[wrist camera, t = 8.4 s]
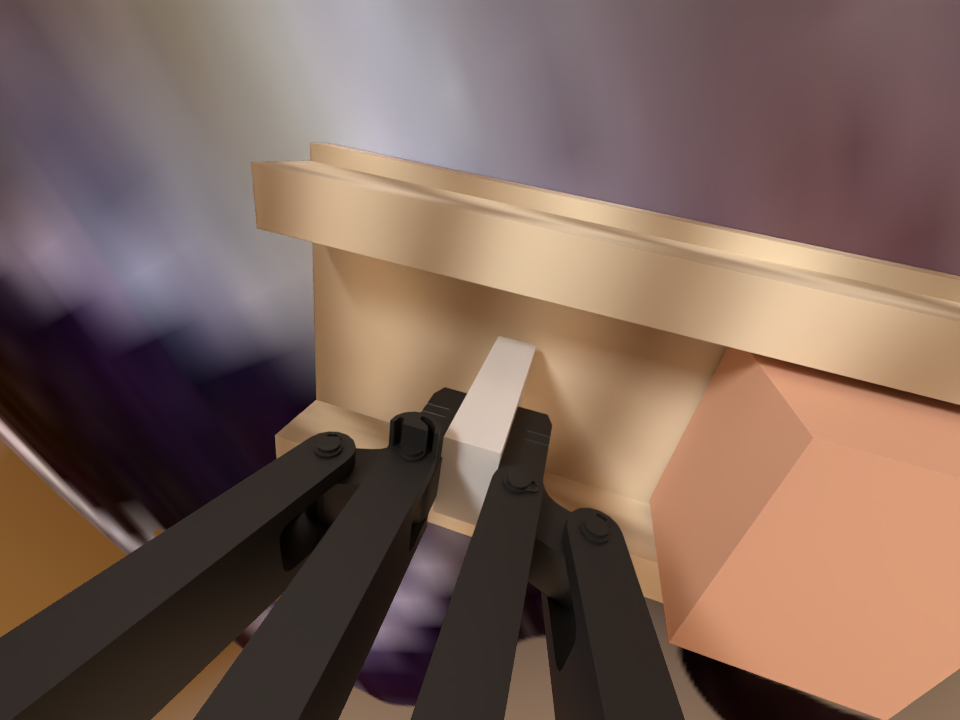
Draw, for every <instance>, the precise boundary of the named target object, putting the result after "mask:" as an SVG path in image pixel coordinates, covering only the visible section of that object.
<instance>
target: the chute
mask: <svg viewBox="0 0 960 720" xmlns="http://www.w3.org/2000/svg"><path fill="white" fill-rule="evenodd" d="M310 157H311V161H280V162H251V165H252V176H253V188H254V199H255V211H256V222H257V228H258V229H262V230H266V231H270V232H274V233H278V234H282V235H286V236H290V237H294V238H298V239H302V240H306V241H310V242H313V282H314V324H315V365H316V401H314V402H313V403H312V404H311V405H310V406H309V407H307V408H306V409H305V410H304V411H303V412H302V413H300V414H299V415H298V416H297V417H296V418H295V419H293V420H292V421H291V422H290V423H289V424H288V425H286V426H285V427H284V428H283V429H282V430H281V431H279V432H278V433H277V434H276V435H275V443H276V454H277V458H279V457H280V456H282V455H283V454H285V453H287V452H288V451H290V450H291V449H293V448H294V447H296V446H297V445H299V444H300V443H302V442H304V441H305V440H307V439H308V438H310V437H312V436H314V435H316V434H318V433H323V432H329V431H331V432H341V433H344V434H346V435H348V436H350V437H351V438H352V439H353V440H354V443H355V445H356V448H362V449H382V448H387V446H388V445H389V431H390V420H391V419H392V418H393V417H395V416H396V415H398V414H401V413H404V412H421V411H423V408H424V407H425V405H426V404H427V403H428V401H429V400H430V398H431V397H432V395H433V394H434V393H435V392H437V391H439V390H441V389H442V388H444V387H446V388H450V389H453V390H457V391H461V392H464V393H468V391H469V389H470V388H471V386H472V384H473V382H474V380H475V378H476V377H477V375H478V373H479V371H480V369H481V367H482V366H483V364H484V362H485V360H486V358H487V356H488V355H489V353H490V351H491V349H492V347H493V345H494V344H495V342H496V340H497V338H498V336H501V337H505V338H509V339H513V340H517V341H521V342H525V343H529V344H533V345H536V349H535V353H534V357H533V361H532V365H531V369H530V373H529V377H528V382H527V386H526V390H525V394H524V398H523V402H522V405H521V407H522V408H526V409H529V410H533V411H537V412H540V413H544V414H547V415H548V416H549V419H550V421H551V423H552V431H551V436H550V442H549V448H548V454H547V459H546V465H545V471H544V477H543V484H544V487H545V490H546V492H547V493H548V495H549V496H550V497H551V498H552V499H553V500H554V501H555V502H556V503H558V504H559V505H560V506H562V507H563V508H565V509H567V510H568V511H570V512H572V511H574V510H576V509H578V508H592V509H596V510H599V511H601V512H603V513H605V514H606V515H608V516H610V517H611V518H612V519H613V520H614V521H615V522H616V523H617V524H618V526H619V528H620V529H621V531H622V533H623V536H624V539H625V542H626V545H627V548H628V551H629V554H630V557H631V560H632V563H633V566H634V569H635V572H636V575H637V578H638V581H639V584H640V587H641V590H642V593H643V596H644V597H646V598H649V599H652V600H655V601H658V602H661V603H663V599H662V591H661V584H660V576H659V569H658V561H657V554H656V547H655V539H654V532H653V524H652V517H651V509H650V502H649V499H650V497H651V495H652V493H653V492H654V490H655V488H656V486H657V484H658V482H659V480H660V478H661V476H662V474H663V472H664V470H665V468H666V466H667V464H668V462H669V460H670V458H671V456H672V454H673V452H674V451H675V449H676V447H677V445H678V443H679V441H680V439H681V437H682V435H683V433H684V431H685V429H686V427H687V425H688V423H689V421H690V419H691V417H692V415H693V413H694V412H695V410H696V408H697V406H698V404H699V402H700V400H701V398H702V396H703V394H704V392H705V390H706V388H707V386H708V384H709V382H710V380H711V378H712V376H713V374H714V373H715V371H716V369H717V367H718V365H719V363H720V361H721V359H722V357H723V355H724V353H725V351H726V349H727V347H732V348H735V349H739V350H743V351H747V352H751V353H755V354H759V355H763V356H767V357H771V358H775V359H779V360H783V361H787V362H791V363H795V364H799V365H803V366H807V367H811V368H815V369H819V370H823V371H827V372H831V373H835V374H839V375H843V376H847V377H851V378H855V379H859V380H863V381H867V382H871V383H875V384H879V385H883V386H887V387H891V388H895V389H899V390H903V391H907V392H911V393H915V394H918V395H922V396H926V397H930V398H934V399H938V400H942V401H946V402H950V403H954V404H958V405H960V276H956V275H951V274H946V273H942V272H937V271H932V270H927V269H923V268H918V267H913V266H908V265H904V264H899V263H894V262H889V261H885V260H880V259H875V258H871V257H866V256H861V255H856V254H852V253H847V252H842V251H837V250H833V249H828V248H823V247H818V246H814V245H809V244H804V243H799V242H795V241H790V240H785V239H780V238H776V237H771V236H766V235H761V234H757V233H752V232H747V231H742V230H738V229H733V228H728V227H723V226H719V225H714V224H709V223H704V222H700V221H695V220H690V219H685V218H681V217H676V216H671V215H666V214H662V213H657V212H652V211H647V210H643V209H638V208H633V207H628V206H624V205H619V204H614V203H609V202H605V201H600V200H595V199H590V198H586V197H581V196H576V195H571V194H567V193H562V192H557V191H553V190H548V189H543V188H538V187H534V186H529V185H524V184H519V183H515V182H510V181H505V180H500V179H496V178H491V177H486V176H481V175H477V174H472V173H467V172H462V171H458V170H453V169H448V168H443V167H439V166H434V165H429V164H424V163H420V162H415V161H410V160H405V159H401V158H396V157H391V156H386V155H382V154H377V153H372V152H367V151H363V150H358V149H353V148H348V147H344V146H339V145H334V144H329V143H310ZM433 508H434V503H433V505H432V507H431V509H430V511H429V514H428V521H427V522H430V523H433V524H436V525H439V526H442V527H444V528H447V529H450V530H453V531H456V532H459V533H462V534H465V535H468V536H470V537H472V535H473V532H474V529H475V526H476V525H473V524H470V523H467V522H464V521H461V520H458V519H455V518H452V517H449V516H445V515H442V514H439V513H436V512H433Z"/></svg>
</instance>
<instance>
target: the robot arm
mask: <svg viewBox="0 0 960 720" xmlns="http://www.w3.org/2000/svg"><path fill="white" fill-rule="evenodd" d="M535 349H536V345H533V344H529V343H525V342H521V341H517V340H513V339H509V338H505V337H501V336H498V338H497V340H496V342H495V344H494V345H493V347H492V349H491V351H490V353H489V355H488V356H487V358H486V360H485V362H484V364H483V366H482V367H481V369H480V371H479V373H478V375H477V377H476V378H475V380H474V382H473V384H472V386H471V388H470V389H469V391H468V393H464V392H461V391H457V390H453V389H450V388H446V387H444V388H442V389H441V390H439V391H437V392H435V393H434V394H433V395H432V397H431V398H430V400H429V401H428V403H427V404H426V405H425V407H424V408H423V411H421V412H404V413H401V414H398V415H396V416H395V417H393V418H392V419H391V420H390V431H389V445H388V446H387V448H382V449H362V448H356V445H355V443H354V440H353V439H352V438H351V437H350V436H348V435H346V434H344V433H341V432H331V431H329V432H323V433H318V434H316V435H314V436H312V437H310V438H308V439H307V440H305V441H304V442H302V443H300V444H299V445H297V446H296V447H294V448H293V449H291V450H290V451H288V452H287V453H285V454H283V455H282V456H280V457H279V458H277V459H276V460H274V461H273V462H271V463H270V464H268V465H266V466H265V467H263V468H262V469H260V470H259V471H257V472H256V473H254V474H253V475H251V476H249V477H248V478H246V479H245V480H243V481H242V482H240V483H239V484H237V485H236V486H234V487H232V488H231V489H229V490H228V491H226V492H225V493H223V494H222V495H220V496H218V497H217V498H215V499H214V500H212V501H211V502H209V503H208V504H206V505H205V506H203V507H201V508H200V509H198V510H197V511H195V512H194V513H192V514H191V515H189V516H188V517H186V518H184V519H183V520H181V521H180V522H178V523H177V524H175V525H174V526H172V527H171V528H169V529H167V530H166V531H164V532H163V533H161V534H160V535H158V536H157V537H155V538H154V539H152V540H150V541H149V542H147V543H146V544H144V545H143V546H141V547H140V548H138V549H137V550H135V551H133V552H132V553H130V554H129V555H127V556H126V557H124V558H123V559H121V560H120V561H118V562H116V563H115V564H113V565H112V566H110V567H109V568H107V569H106V570H104V571H102V572H101V573H99V574H98V575H96V576H95V577H93V578H92V579H90V580H89V581H87V582H85V583H84V584H82V585H81V586H79V587H78V588H76V589H75V590H73V591H72V592H70V593H68V594H67V595H65V596H64V597H62V598H61V599H59V600H58V601H56V602H55V603H53V604H52V605H50V606H48V607H47V608H45V609H44V610H42V611H41V612H39V613H38V614H36V615H34V616H33V617H31V618H30V619H28V620H27V621H25V622H24V623H22V624H21V625H19V626H17V627H16V628H14V629H13V630H11V631H10V632H8V633H7V634H5V635H3V636H2V637H0V720H151V719H152V718H153V717H154V716H155V715H156V714H157V713H158V712H159V711H160V710H161V709H162V708H163V707H164V706H165V705H167V704H168V703H169V702H170V701H171V700H172V699H173V698H174V697H175V696H176V695H177V694H178V693H179V692H180V691H181V690H182V689H183V688H184V687H185V686H186V685H187V684H188V683H189V682H191V681H192V680H193V679H194V678H195V677H196V676H197V675H198V674H199V673H200V672H201V671H202V670H203V669H204V668H205V667H206V666H207V665H208V664H209V663H210V662H211V661H212V660H213V659H214V658H215V657H217V656H218V655H219V654H220V652H222V651H223V650H224V649H225V648H226V647H227V646H228V645H229V644H230V643H231V642H232V641H233V640H234V639H235V638H236V637H237V636H238V635H239V634H241V633H242V632H243V631H244V630H245V629H246V628H247V627H248V626H249V625H250V624H251V623H252V622H253V621H254V620H255V619H256V618H257V617H258V616H259V615H260V614H261V613H262V612H263V611H264V610H266V609H267V608H268V607H269V606H270V605H271V604H272V603H273V602H274V601H275V600H276V599H277V598H278V597H279V596H280V595H281V594H282V593H283V592H284V593H283V594H282V595H281V597H280V598H279V600H278V601H277V602H276V604H275V605H274V607H273V608H272V609H271V611H270V612H269V614H268V615H267V617H266V618H265V619H264V621H263V622H262V624H261V625H260V626H259V628H258V629H257V631H256V632H255V633H254V635H253V636H252V638H251V639H250V640H249V642H248V643H247V645H246V646H245V647H244V649H243V650H242V652H241V653H240V654H239V656H238V657H237V659H236V660H235V661H234V663H233V664H232V666H231V667H230V669H229V670H228V671H227V673H226V674H225V676H224V677H223V679H222V680H221V681H220V683H219V684H218V685H217V687H216V688H215V690H214V691H213V693H212V694H211V695H210V697H209V698H208V700H207V701H206V702H205V704H204V705H203V706H202V708H201V709H200V711H199V712H198V713H197V715H196V716H195V718H194V719H193V720H338V719H339V717H340V715H341V713H342V710H343V708H344V706H345V704H346V702H347V699H348V697H349V695H350V693H351V691H352V688H353V686H354V684H355V682H356V680H357V678H358V675H359V673H360V671H361V669H362V667H363V664H364V662H365V660H366V658H367V656H368V654H369V651H370V649H371V647H372V645H373V643H374V640H375V638H376V636H377V634H378V632H379V629H380V627H381V625H382V623H383V621H384V619H385V616H386V614H387V612H388V610H389V608H390V605H391V603H392V601H393V599H394V597H395V594H396V592H397V590H398V588H399V586H400V584H401V581H402V579H403V577H404V575H405V573H406V570H407V568H408V566H409V564H410V562H411V559H412V557H413V555H414V553H415V551H416V549H417V546H418V544H419V542H420V540H421V538H422V535H423V533H424V531H425V529H426V526H427V521H428V514H429V511H430V509H431V507H432V505H433V503H434V508H433V512H436V513H439V514H442V515H445V516H449V517H452V518H455V519H458V520H461V521H464V522H467V523H470V524H473V525H476V526H475V529H474V532H473V535H472V538H471V541H470V544H469V547H468V550H467V553H466V556H465V559H464V562H463V565H462V568H461V571H460V574H459V577H458V580H457V583H456V586H455V589H454V592H453V595H452V598H451V601H450V604H449V607H448V610H447V613H446V616H445V619H444V622H443V625H442V628H441V631H440V634H439V637H438V640H437V643H436V646H435V649H434V652H433V655H432V658H431V661H430V664H429V667H428V670H427V672H426V675H425V678H424V681H423V684H422V687H421V690H420V693H419V696H418V699H417V702H416V705H415V708H414V711H413V714H412V717H411V720H504V716H505V710H506V705H507V699H508V693H509V687H510V681H511V675H512V669H513V664H514V658H515V651H516V646H517V640H518V635H519V629H520V623H521V617H522V611H523V605H524V600H525V594H526V588H527V582H529V583H530V584H532V585H533V586H535V587H536V588H537V589H539V590H540V591H542V593H541V597H542V606H543V614H544V623H545V632H546V641H547V650H548V658H549V667H550V676H551V684H552V693H553V702H554V711H555V719H556V720H685V719H684V716H683V713H682V710H681V707H680V704H679V702H678V698H677V695H676V692H675V689H674V686H673V683H672V680H671V677H670V674H669V671H668V668H667V665H666V662H665V659H664V656H663V653H662V650H661V647H660V644H659V641H658V638H657V635H656V632H655V629H654V626H653V623H652V620H651V617H650V614H649V611H648V608H647V605H646V602H645V599H644V596H643V593H642V590H641V587H640V584H639V581H638V578H637V575H636V572H635V569H634V566H633V563H632V560H631V557H630V554H629V551H628V548H627V545H626V542H625V539H624V536H623V533H622V531H621V529H620V528H619V526H618V524H617V523H616V522H615V521H614V520H613V519H612V518H611V517H610V516H608V515H606V514H605V513H603V512H601V511H599V510H596V509H592V508H578V509H576V510H574V511H572V512H570V511H568V510H567V509H565V508H563V507H562V506H560V505H559V504H558V503H556V502H555V501H554V500H553V499H552V498H551V497H550V496H549V495H548V493H547V492H546V490H545V487H544V484H543V477H544V471H545V465H546V459H547V454H548V448H549V442H550V436H551V431H552V423H551V421H550V419H549V416H548V415H547V414H544V413H540V412H537V411H533V410H529V409H526V408H522V407H521V405H522V402H523V398H524V394H525V390H526V386H527V382H528V377H529V373H530V369H531V365H532V361H533V357H534V353H535Z"/></svg>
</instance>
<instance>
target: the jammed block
mask: <svg viewBox="0 0 960 720" xmlns="http://www.w3.org/2000/svg"><path fill="white" fill-rule="evenodd" d="M649 502H650V509H651V517H652V524H653V532H654V539H655V547H656V554H657V561H658V569H659V576H660V584H661V591H662V599H663V606H664V613H665V620H666V628H667V636H668V643H671V644H674V645H676V646H679V647H682V648H685V649H688V650H690V651H693V652H696V653H699V654H701V655H704V656H707V657H710V658H713V659H715V660H718V661H721V662H724V663H726V664H729V665H732V666H735V667H738V668H740V669H743V670H746V671H749V672H751V673H754V674H757V675H760V676H763V677H765V678H768V679H771V680H774V681H776V682H779V683H782V684H785V685H788V686H790V687H793V688H796V689H799V690H801V691H804V692H807V693H810V694H813V695H815V696H818V697H821V698H824V699H826V700H829V701H832V702H835V703H838V704H840V705H843V706H846V707H849V708H851V709H854V710H857V711H860V712H863V713H866V714H868V715H871V716H874V717H877V718H879V719H882V720H888V719H889V718H891V717H892V716H894V715H895V714H896V713H898V712H899V711H901V710H902V709H903V708H905V707H906V706H908V705H909V704H910V703H912V702H913V701H914V700H916V699H917V698H919V697H920V696H922V695H923V694H924V693H926V692H927V691H928V690H930V689H931V688H933V687H934V686H935V685H937V684H938V683H940V682H941V681H943V680H944V679H945V678H947V677H948V676H950V675H951V674H952V673H954V672H955V671H957V670H958V669H959V668H960V405H958V404H954V403H950V402H946V401H942V400H938V399H934V398H930V397H926V396H922V395H918V394H915V393H911V392H907V391H903V390H899V389H895V388H891V387H887V386H883V385H879V384H875V383H871V382H867V381H863V380H859V379H855V378H851V377H847V376H843V375H839V374H835V373H831V372H827V371H823V370H819V369H815V368H811V367H807V366H803V365H799V364H795V363H791V362H787V361H783V360H779V359H775V358H771V357H767V356H763V355H759V354H755V353H751V352H747V351H743V350H739V349H735V348H732V347H727V349H726V351H725V353H724V355H723V357H722V359H721V361H720V363H719V365H718V367H717V369H716V371H715V373H714V374H713V376H712V378H711V380H710V382H709V384H708V386H707V388H706V390H705V392H704V394H703V396H702V398H701V400H700V402H699V404H698V406H697V408H696V410H695V412H694V413H693V415H692V417H691V419H690V421H689V423H688V425H687V427H686V429H685V431H684V433H683V435H682V437H681V439H680V441H679V443H678V445H677V447H676V449H675V451H674V452H673V454H672V456H671V458H670V460H669V462H668V464H667V466H666V468H665V470H664V472H663V474H662V476H661V478H660V480H659V482H658V484H657V486H656V488H655V490H654V492H653V493H652V495H651V497H650V499H649Z"/></svg>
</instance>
